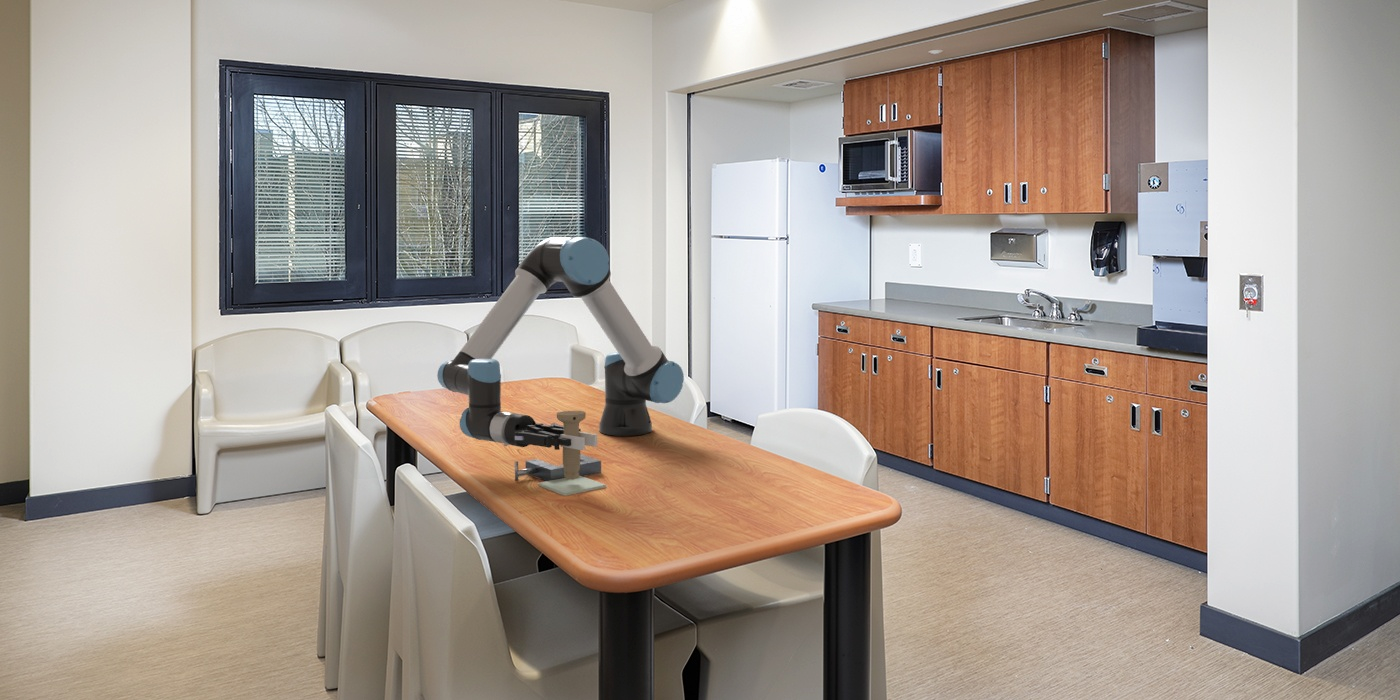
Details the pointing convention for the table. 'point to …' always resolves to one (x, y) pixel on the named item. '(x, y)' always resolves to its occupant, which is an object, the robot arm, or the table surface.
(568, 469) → the handle
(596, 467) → the vise
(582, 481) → the mat
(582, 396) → the table surface
